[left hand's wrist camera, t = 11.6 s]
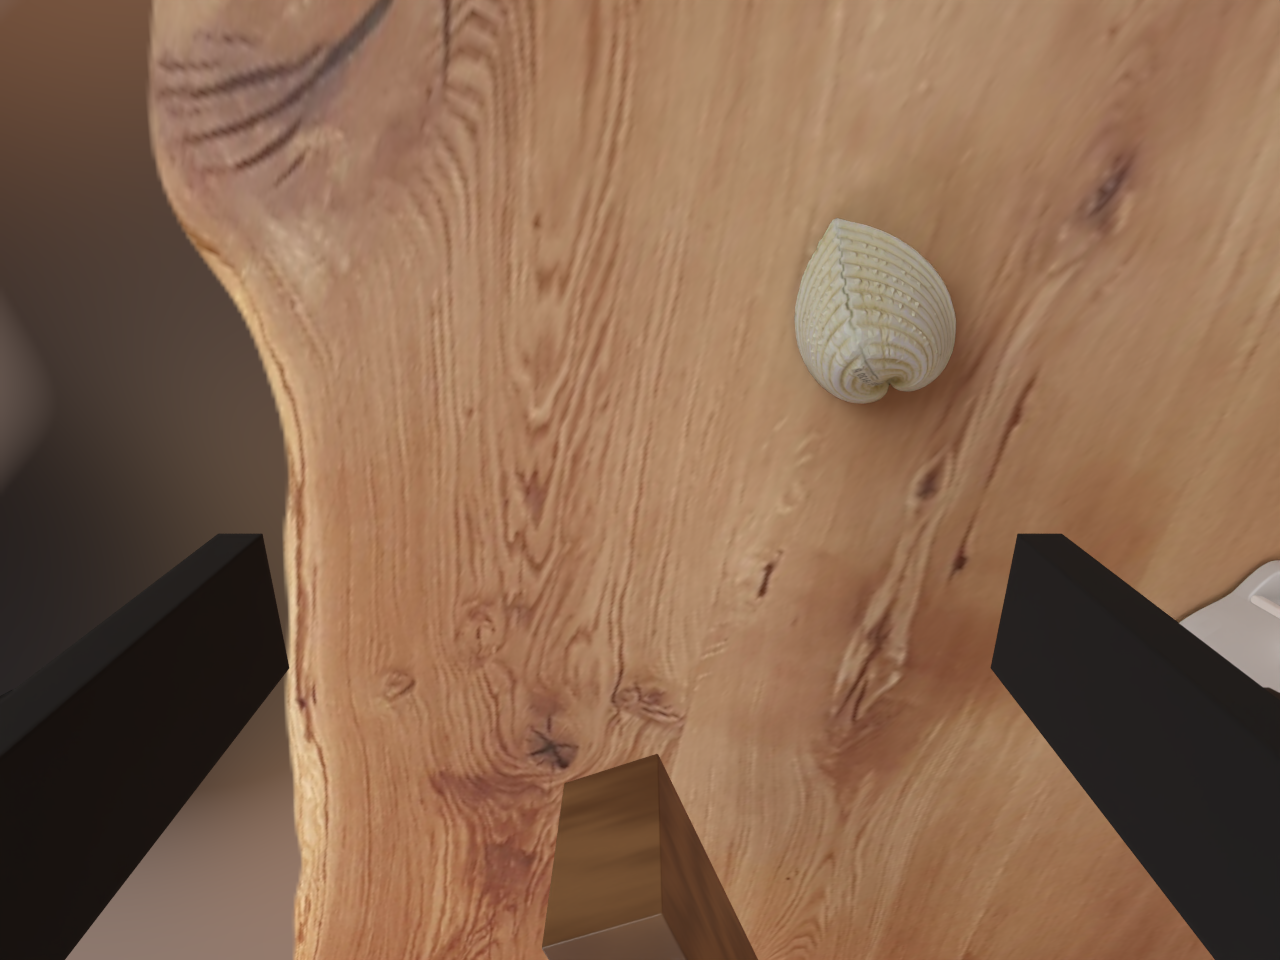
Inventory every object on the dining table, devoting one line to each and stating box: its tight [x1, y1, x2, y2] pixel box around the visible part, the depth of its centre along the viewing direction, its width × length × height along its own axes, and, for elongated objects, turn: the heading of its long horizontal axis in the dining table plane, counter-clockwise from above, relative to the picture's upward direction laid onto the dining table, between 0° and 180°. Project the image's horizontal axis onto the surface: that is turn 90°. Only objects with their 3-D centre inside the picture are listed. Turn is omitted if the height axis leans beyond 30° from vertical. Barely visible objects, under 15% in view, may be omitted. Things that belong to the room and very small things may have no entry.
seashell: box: [795, 218, 956, 404], centre depth 38 cm, size 8×8×8 cm
